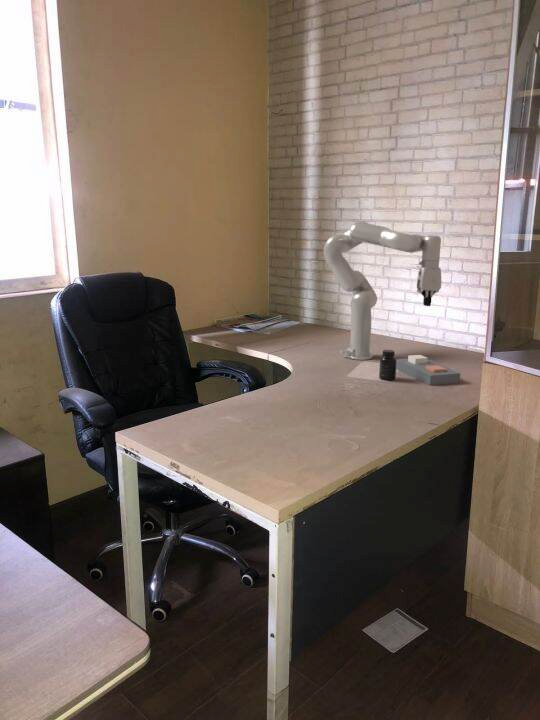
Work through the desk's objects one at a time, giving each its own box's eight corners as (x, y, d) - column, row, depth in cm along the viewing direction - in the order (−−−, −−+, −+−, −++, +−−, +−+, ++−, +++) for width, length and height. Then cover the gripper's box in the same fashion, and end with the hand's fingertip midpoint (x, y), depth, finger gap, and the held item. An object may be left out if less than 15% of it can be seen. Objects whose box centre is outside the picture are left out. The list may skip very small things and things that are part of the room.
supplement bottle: (385, 375, 246) (386, 348, 243) (398, 379, 241) (400, 351, 238) (375, 378, 241) (377, 350, 238) (389, 382, 236) (391, 353, 233)
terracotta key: (432, 381, 237) (433, 369, 236) (424, 377, 243) (425, 366, 242) (445, 380, 239) (446, 368, 238) (437, 376, 245) (438, 365, 244)
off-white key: (414, 369, 250) (415, 358, 249) (407, 366, 256) (408, 355, 254) (426, 369, 252) (427, 357, 251) (419, 365, 257) (420, 354, 256)
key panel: (429, 385, 233) (430, 375, 232) (394, 368, 258) (395, 359, 257) (459, 382, 237) (460, 373, 236) (422, 366, 263) (422, 357, 262)
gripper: (419, 265, 249) (416, 307, 254) (449, 264, 254) (446, 306, 258) (410, 263, 256) (407, 305, 261) (439, 263, 261) (436, 303, 265)
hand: (426, 305), depth 259 cm, fingers closed
